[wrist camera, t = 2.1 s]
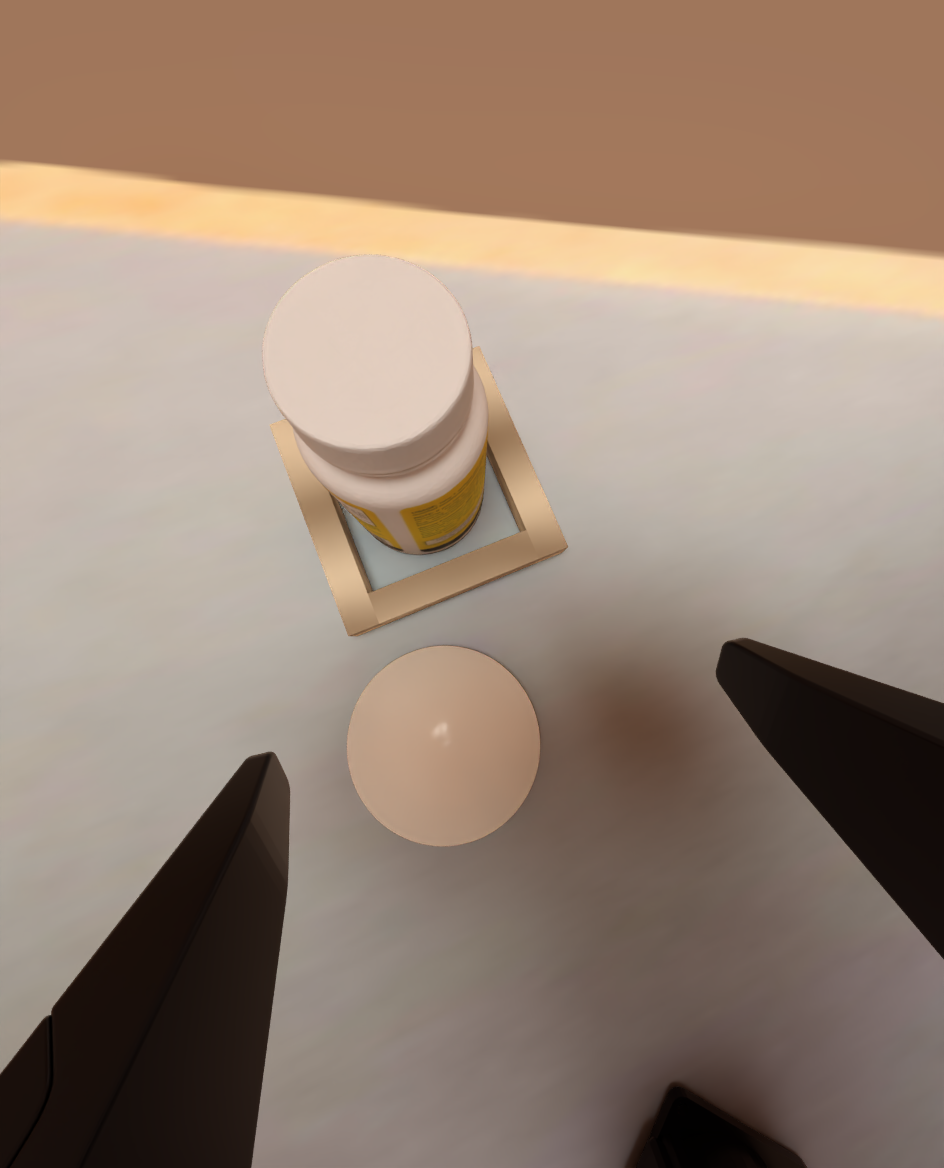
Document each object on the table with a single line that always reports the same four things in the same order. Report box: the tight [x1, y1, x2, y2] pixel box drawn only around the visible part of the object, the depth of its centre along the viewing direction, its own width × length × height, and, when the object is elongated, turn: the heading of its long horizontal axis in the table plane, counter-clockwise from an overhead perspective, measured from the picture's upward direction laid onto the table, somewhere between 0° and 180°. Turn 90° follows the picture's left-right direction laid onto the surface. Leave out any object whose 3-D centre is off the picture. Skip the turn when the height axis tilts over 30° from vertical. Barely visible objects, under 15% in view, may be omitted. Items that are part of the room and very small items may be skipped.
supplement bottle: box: [262, 255, 489, 554], centre depth 16 cm, size 6×6×11 cm
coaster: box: [347, 646, 540, 846], centre depth 20 cm, size 9×9×1 cm
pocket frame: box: [270, 346, 568, 636], centre depth 21 cm, size 11×11×2 cm
